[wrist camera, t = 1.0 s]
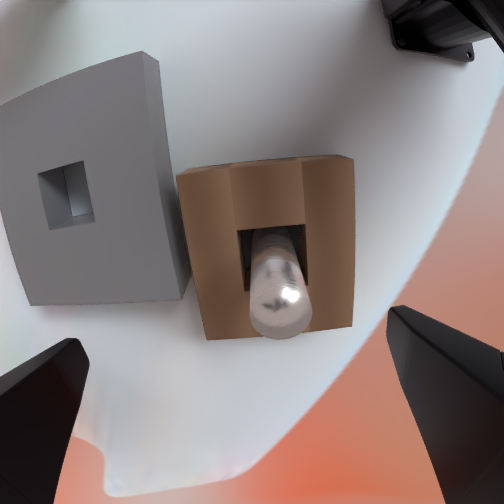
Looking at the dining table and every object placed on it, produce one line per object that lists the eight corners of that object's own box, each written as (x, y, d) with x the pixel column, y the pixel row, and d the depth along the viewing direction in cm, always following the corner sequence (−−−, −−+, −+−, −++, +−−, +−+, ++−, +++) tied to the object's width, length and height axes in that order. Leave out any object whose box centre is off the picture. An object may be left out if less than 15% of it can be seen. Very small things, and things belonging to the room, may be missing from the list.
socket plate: (158, 61, 16) (142, 50, 13) (190, 277, 21) (181, 299, 18) (12, 112, 16) (-14, 114, 14) (50, 287, 22) (30, 305, 19)
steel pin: (289, 220, 20) (311, 283, 12) (291, 256, 20) (312, 336, 12) (250, 223, 20) (246, 289, 12) (254, 260, 20) (252, 341, 13)
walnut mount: (338, 154, 18) (353, 159, 15) (341, 302, 22) (351, 326, 19) (187, 169, 18) (176, 176, 16) (212, 314, 22) (206, 340, 19)
